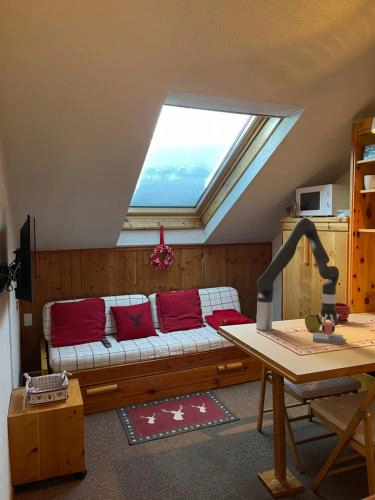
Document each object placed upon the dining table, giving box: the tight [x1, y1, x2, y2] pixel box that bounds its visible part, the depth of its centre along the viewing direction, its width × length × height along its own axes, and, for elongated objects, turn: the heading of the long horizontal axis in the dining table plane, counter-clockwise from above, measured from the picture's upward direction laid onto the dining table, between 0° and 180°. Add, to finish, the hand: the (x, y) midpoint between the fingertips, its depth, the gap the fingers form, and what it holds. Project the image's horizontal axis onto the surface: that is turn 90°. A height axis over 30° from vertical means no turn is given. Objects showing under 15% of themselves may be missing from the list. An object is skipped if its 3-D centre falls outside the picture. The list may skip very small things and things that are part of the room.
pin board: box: [312, 332, 345, 345], centre depth 224 cm, size 16×12×5 cm
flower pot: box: [304, 313, 323, 333], centre depth 245 cm, size 9×9×9 cm
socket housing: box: [324, 321, 333, 334], centre depth 224 cm, size 4×8×5 cm, turn 162°
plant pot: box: [329, 302, 351, 325], centre depth 265 cm, size 13×13×12 cm
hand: (328, 331), depth 224 cm, fingers closed on socket housing, 4 cm apart
